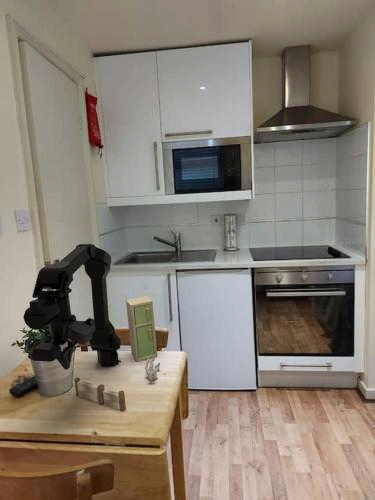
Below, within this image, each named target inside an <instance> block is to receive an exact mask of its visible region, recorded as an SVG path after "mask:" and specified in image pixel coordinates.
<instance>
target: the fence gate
mask: <svg viewBox="0 0 375 500" xmlns="http://www.w3.org/2000/svg"><path fill="white" fill-rule="evenodd" d="M73 381H74V388H75V393H76V394H75V396H77V397H80V398H83V399H86V400H88V401H92V402H94V403H99V395H98V386H99V385H98V384H95V383H91V382H88V381H85V380H81V378H80V377H75V378H74V379H73Z"/></svg>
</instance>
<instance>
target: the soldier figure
mask: <svg viewBox="0 0 375 500" xmlns="http://www.w3.org/2000/svg"><path fill="white" fill-rule="evenodd" d="M150 359H151V360H150ZM150 359H146V362H145V367H144V370H145V373H146V375H147V376H146V377H145V379H146V380H148V381H149V382H150V383H151V384H152V383H153V381H156V380H158V379H159V377H158V376H157V373H158V372H159V371H160V367H159V366H160V365H161V362H157V364H156V365H154V361H155V359H156V357H154V358H150ZM154 368H155V369H154ZM165 375H166V373H164V374H163V376H165Z"/></svg>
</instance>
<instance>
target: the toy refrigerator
mask: <svg viewBox="0 0 375 500" xmlns="http://www.w3.org/2000/svg"><path fill="white" fill-rule="evenodd" d="M153 302H154V301H153V300H152V299H151V298H150V297H149V296H148V295H145V296H138V297H134V298H133V297H132V298H128V299H126V300H125V304H126V305H125V306H126V313H127V314H126V316H127V322H128V334H129V343H130V353H131V356H132V358H133V359H134V361H135V362H136V363H138V362H142V361H147V360H148V359H152V358H157V357H158V347H157V337H156V327H155V325H156V324H155V318H154V317H155V315H154V303H153Z"/></svg>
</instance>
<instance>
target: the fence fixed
mask: <svg viewBox="0 0 375 500" xmlns="http://www.w3.org/2000/svg"><path fill="white" fill-rule="evenodd" d="M98 395H99V402H98V404H99V405H101V406H102V405H104V406H106V407H109V408H113V409H115V410H118V411H120V412H125V411H126V410H127V407H126V398H125V397H126V396H125V391H124V390H119V391H118V392H117V391H114V390H110V389H107V388H105V385H104V384H99V385H98Z"/></svg>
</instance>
